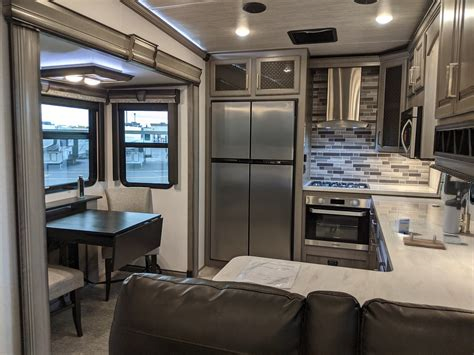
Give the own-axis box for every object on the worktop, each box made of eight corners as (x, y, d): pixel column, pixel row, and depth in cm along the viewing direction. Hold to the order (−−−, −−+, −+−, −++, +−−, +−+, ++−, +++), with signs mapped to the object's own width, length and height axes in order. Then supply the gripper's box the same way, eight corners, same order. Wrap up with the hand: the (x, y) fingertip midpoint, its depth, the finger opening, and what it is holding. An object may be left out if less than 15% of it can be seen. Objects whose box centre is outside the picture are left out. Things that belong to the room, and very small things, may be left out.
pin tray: (402, 238, 224) (403, 230, 224) (440, 242, 217) (441, 234, 217) (404, 244, 211) (405, 235, 211) (444, 249, 204) (445, 240, 204)
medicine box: (398, 233, 237) (399, 219, 236) (393, 231, 241) (394, 218, 240) (408, 232, 239) (410, 219, 238) (404, 230, 243) (405, 217, 242)
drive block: (441, 240, 223) (442, 233, 223) (459, 242, 220) (459, 235, 219) (442, 242, 218) (443, 235, 218) (460, 244, 215) (461, 237, 215)
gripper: (460, 178, 215) (457, 205, 218) (452, 180, 206) (449, 209, 208) (475, 179, 210) (472, 208, 212) (467, 182, 200) (464, 211, 203)
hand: (461, 208), depth 210 cm, fingers open, 8 cm apart
